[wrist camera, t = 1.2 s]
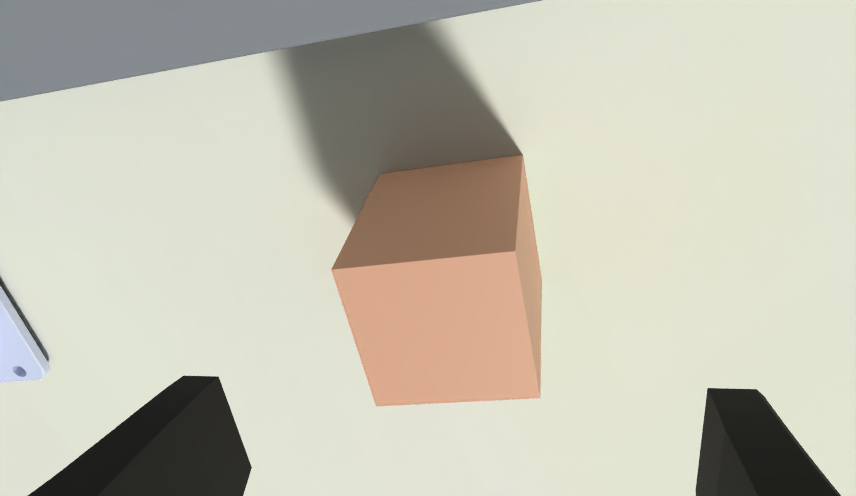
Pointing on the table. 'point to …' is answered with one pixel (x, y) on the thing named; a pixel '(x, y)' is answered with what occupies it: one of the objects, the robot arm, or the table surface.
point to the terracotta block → (446, 285)
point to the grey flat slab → (181, 33)
